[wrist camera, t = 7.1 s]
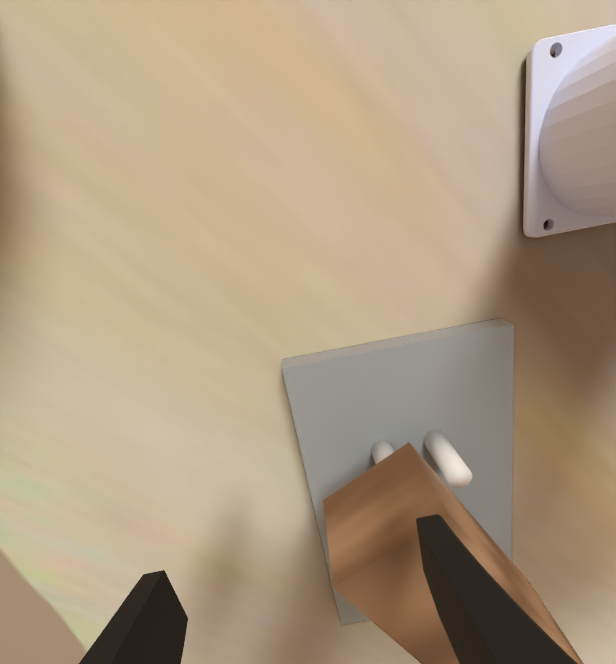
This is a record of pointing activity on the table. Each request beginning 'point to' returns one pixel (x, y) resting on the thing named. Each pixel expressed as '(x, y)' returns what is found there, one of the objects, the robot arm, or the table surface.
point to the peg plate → (411, 418)
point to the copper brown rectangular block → (411, 554)
